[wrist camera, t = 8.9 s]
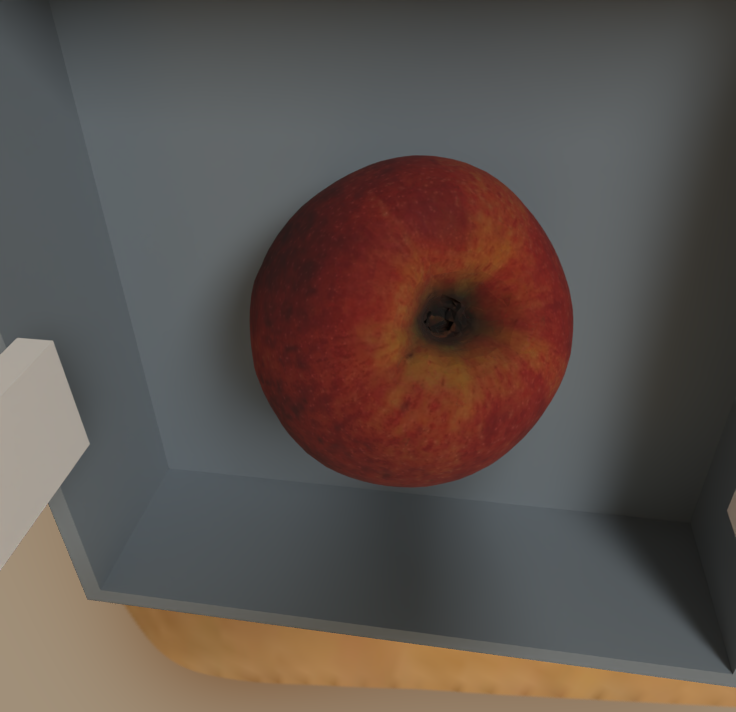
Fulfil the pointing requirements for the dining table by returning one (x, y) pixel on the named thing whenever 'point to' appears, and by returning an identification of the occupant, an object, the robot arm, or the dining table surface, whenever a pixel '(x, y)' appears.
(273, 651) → the dining table surface
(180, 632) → the dining table surface
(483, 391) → the apple
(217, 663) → the dining table surface
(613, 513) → the tub
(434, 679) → the dining table surface
